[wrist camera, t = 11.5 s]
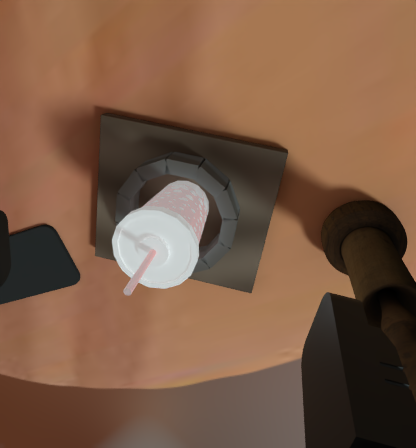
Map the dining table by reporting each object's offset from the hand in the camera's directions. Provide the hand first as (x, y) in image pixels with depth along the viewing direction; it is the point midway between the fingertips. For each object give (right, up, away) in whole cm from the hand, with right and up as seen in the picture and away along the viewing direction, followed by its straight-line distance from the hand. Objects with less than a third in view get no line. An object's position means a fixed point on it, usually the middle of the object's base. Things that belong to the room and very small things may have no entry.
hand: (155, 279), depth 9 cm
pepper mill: (+15, +1, +24) cm, 29 cm away
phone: (-20, -3, +33) cm, 39 cm away
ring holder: (-1, +3, +26) cm, 26 cm away
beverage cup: (-1, +3, +25) cm, 25 cm away
